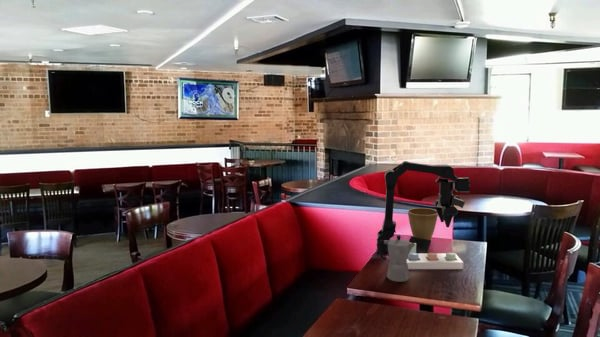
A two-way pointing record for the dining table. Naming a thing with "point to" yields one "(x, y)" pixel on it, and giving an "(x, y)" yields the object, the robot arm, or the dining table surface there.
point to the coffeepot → (397, 258)
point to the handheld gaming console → (420, 244)
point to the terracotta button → (432, 256)
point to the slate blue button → (413, 256)
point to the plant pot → (422, 222)
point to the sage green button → (450, 256)
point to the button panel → (433, 261)
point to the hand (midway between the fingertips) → (444, 224)
